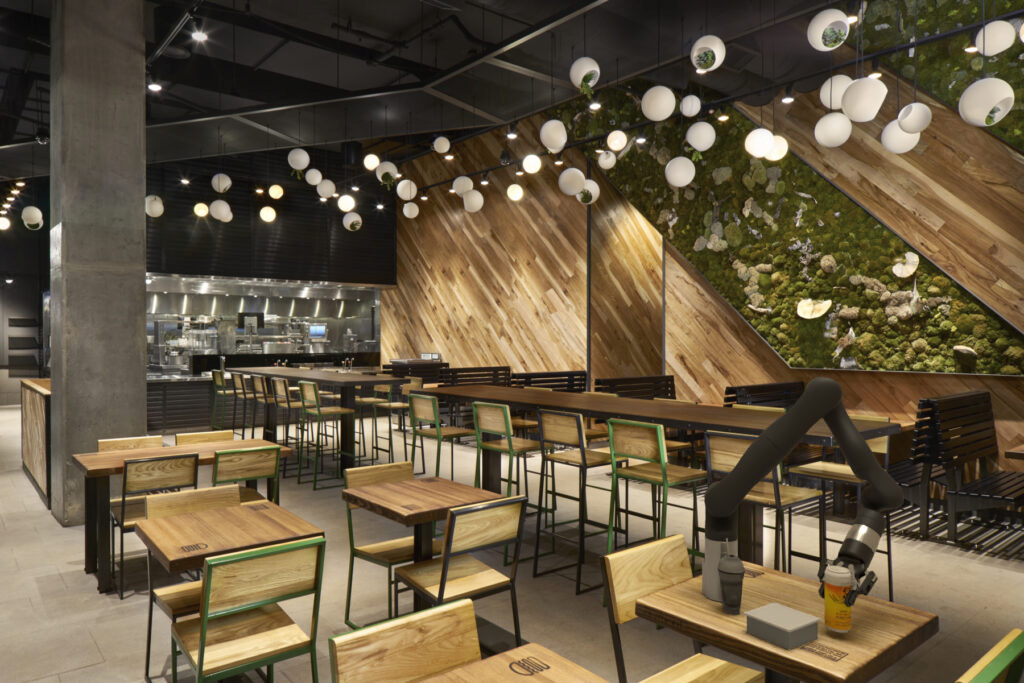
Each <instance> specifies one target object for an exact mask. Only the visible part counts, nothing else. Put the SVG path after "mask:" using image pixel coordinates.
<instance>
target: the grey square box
mask: <svg viewBox="0 0 1024 683" xmlns="http://www.w3.org/2000/svg"><path fill="white" fill-rule="evenodd" d="M743 615H744V616H746V633H748V634H749V635H751V636H755V637H756V638H759V639H762V640H763V641H766V642H768V643H771V644H772V645H775V644H776V646H778V647H780V646H781V647H780V648H783V649H785V648H786V649H785V650H787V649H791V650H793V649H796V648H798V647H800V645H801V646H803V645H806V644H808V643H810V642H813V641H815V640H818V639H819V631H818V630H819V626H818V625H819V624H818V622H820V621H821V620H822V619H821V618H820V617H818V616H815V615H812V614H809V613H805V612H803V611H800V610H797V609H795V608H793V607H790V606H786V605H784V604H781V603H777V602H771V603H768V604H765V605H762V606H761V607H756V608H753V609H751V610H748V611H745V612H743ZM812 640H813V641H812ZM805 643H806V644H805ZM802 644H803V645H802ZM795 647H796V648H795ZM792 648H793V649H792Z"/></svg>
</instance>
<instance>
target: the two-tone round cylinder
mask: <svg viewBox="0 0 1024 683" xmlns="http://www.w3.org/2000/svg"><path fill="white" fill-rule="evenodd" d="M849 590H852V589H851V574H850V571H849V569H847V568H844V567H840V566H827V567H826V570H825V599H824V625H825V626H826V627H827V629H828V630H830V631H833V632H835V633H841V634H842V633H848V632H849V631H851V629H852V606H851V607H847V606H846V605H845V603H844V601H845V599H846V597H847V594H848V592H849Z"/></svg>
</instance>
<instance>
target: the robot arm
mask: <svg viewBox="0 0 1024 683" xmlns="http://www.w3.org/2000/svg"><path fill="white" fill-rule="evenodd" d="M804 389H805V390H804V391H803V393H802V395H801V396H800V397H799V398H798V400H796V402H795V403H794V404H793V405H792V406H791V408H790V409H789V410H787V411H786V412H785V413H784V414H782V416H779V418H777V419H775V420H774V421H773V422H772V423H771V424H770V425H769V426H767V427H766V428H765V429H764V430H763V431H762V432H761V433H760V434H759V435H758V436H757V437H756V438H755V439H754V440H753V441H752V443H750V445H749V446H748V447H747V448H746V450H745V451H744V452H743V454H742V455H741V457H740V458H739V460H738V461H737V463H736V465H735V466H734V467H733V468H732V470H730V471H729V473H728V474H726V476H724V477H723V478H722V479H721V480H720V481H716V482H715V481H714V482H713V483H710V484H709V486H708V487H707V488H706V490H705V494H704V497H703V498H704V499H703V500H704V501H703V502H704V506H705V507H704V508H705V509H704V511H705V512H704V514H705V515H704V517H705V518H704V560H703V561H702V563H701V576H702V578H701V579H702V580H701V585H702V588H701V590H702V591H701V592H702V593H701V594H702V595H704V596H705V597H706V598H707V599H709V600H711V601H715V602H720V603H722V598H721V587H720V577H719V573H718V569H717V568H718V564H719V561H720V559H721V558H722V557H724V556H726V555H728V552H727V544H726V538H728V545H729V554H730V555H734V556H737V557H738V556H739V555H738V552H739V551H738V549H739V548H738V547H739V546H738V540H739V539H738V538H739V537H738V531H739V530H738V529H739V528H738V527H739V525H738V522H739V521H738V520H739V519H738V518H739V517H738V514H739V513H738V509H739V508H738V507H739V505H740V504H741V503H742V502H743V500H744V499H745V498H746V496H747V495H748V494H749V493H750V492H751V491H752V489H753V488H754V487H755V486H756V485H758V483H760V482H761V481H762V480H764V478H766V477H767V476H768V475H769V474H770V473H772V471H774V469H776V468H777V467H778V466H779V465H780V464H781V463H782V462H783V461H784V460H785V459H786V458H787V457H788V456H789V454H791V452H792V451H793V450H794V449H795V448H796V447H797V446H798V444H799V443H800V442H801V441H802V440H803V439H804V437H805V436H806V435H807V433H808V432H809V431H810V429H812V427H813V426H814V425H815V424H817V423H818V422H819V421H820V420H821V419H822V420H823V421H824V423H825V424H826V425H827V427H828V428H829V431H830V432H831V433H832V436H833V437H834V440H835V441H836V442H835V443H836V444H837V445H838V448H839V449H840V452H841V454H842V455H843V457H844V459H845V461H846V462H847V463H846V464H848V466H849V468H850V469H851V471H852V473H853V475H854V476H855V477H856V479H858V480H860V481H861V480H862V481H866V482H868V483H869V484H870V485H868V486H865V488H863V490H862V491H861V493H860V497H859V503H858V508H857V510H858V511H857V516H856V517H855V519H854V521H853V523H852V525H851V527H850V529H849V530H848V532H847V533H846V536H845V538H844V539H843V542H842V544H841V546H840V547H839V550H838V554H837V557H836V558H834V559H833V560H831V559H828V558H827V557H823V558H821V561H820V565H819V569H818V570H817V574H816V576H817V578H818V579H819V580H820V582H821V584H820V585H819V589H818V594H819V597H820V598H822V599H824V600H825V570H826V567H827V566H840V567H844V568H847V569H849V571H850V574H851V590H849V592H848V594H847V597H846V599H845V601H844V603H845V605H846V606H847V607H851V608H852V607H853V606H854V605H855V603H856V601H857V598H858V596H860V595H863V596H865V597H867V596H868V595H869V594H870V593H871V590H872V589H873V587H874V586H875V584H876V582H877V581H878V580H879V578H878V576H877V574H876V573H875V571H873V570H868V569H869V567H870V565H871V563H872V561H873V558H874V557H875V554H876V552H877V550H878V548H879V545H880V544H879V543H880V540H881V538H882V536H883V533H884V532H885V529H886V526H887V519H886V518H885V516H884V515H883V514H882V511H887V510H888V511H889V510H897V509H899V508H901V507H902V506H903V504H904V500H905V497H904V492H903V490H902V488H901V487H900V485H899V483H898V482H897V481H896V480H895V479H894V478H893V477H892V476H891V475H890V474H889V473H888V471H886V470H885V469H884V468H883V467H882V466H881V465H880V463H879V461H878V459H877V458H876V456H875V454H874V452H873V451H872V449H871V447H870V446H869V444H868V443H867V441H866V440H865V438H864V437H863V435H862V434H861V432H860V431H859V430H858V428H857V427H856V426H855V424H854V422H853V420H852V419H851V417H850V415H849V413H848V411H847V410H846V408H845V405H844V403H843V389H842V387H841V385H840V383H838V381H836V380H835V379H833V378H830V377H826V376H817V377H814V378H812V379H811V380H809V381H808V383H807V384H806V386H805V388H804ZM738 558H739V557H738ZM863 577H864V579H863V582H862V583H860V579H862V578H863Z"/></svg>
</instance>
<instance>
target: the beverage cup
mask: <svg viewBox="0 0 1024 683" xmlns="http://www.w3.org/2000/svg"><path fill="white" fill-rule="evenodd" d="M726 544H727V552H728V555H726V556H724V557H722V558H721V559H720V561H719V564H718V568H717V569H718V573H719V577H720V587H721V598H722V602H721V606H722V612H723V613H724V614H726V613H727V614H726V615H729V614H731V615H730V616H738V615H740V614H741V606H742V596H743V586H744V584H743V583H744V579H745V578H744V577H745V573H746V571H745V565H744V563H743V560H741V559H740V558H739V557H737V556H734V555H730V554H729V545H728V538H726ZM737 614H738V615H737Z"/></svg>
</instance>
